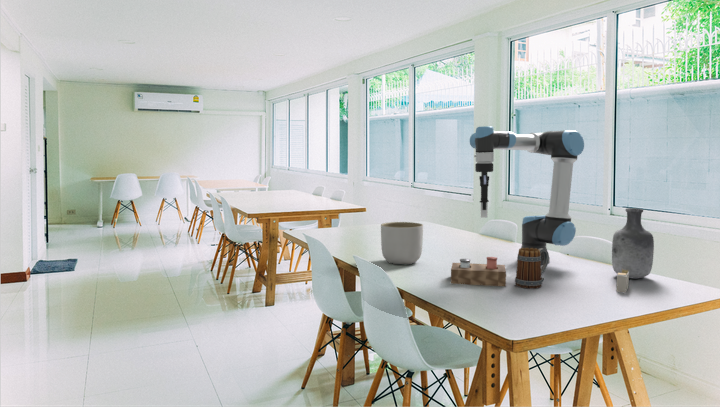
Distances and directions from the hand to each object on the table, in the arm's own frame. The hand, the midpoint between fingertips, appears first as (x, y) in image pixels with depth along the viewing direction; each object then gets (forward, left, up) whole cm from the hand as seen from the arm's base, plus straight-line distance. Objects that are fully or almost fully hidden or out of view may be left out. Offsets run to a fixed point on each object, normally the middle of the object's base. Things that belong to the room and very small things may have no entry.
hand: (484, 217), depth 229 cm
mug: (-20, +11, -27) cm, 35 cm away
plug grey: (+7, +9, -26) cm, 29 cm away
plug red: (-4, +9, -25) cm, 27 cm away
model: (-54, +10, -27) cm, 61 cm away
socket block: (+2, +9, -26) cm, 28 cm away
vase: (-63, -12, -27) cm, 69 cm away
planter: (+39, -22, -27) cm, 52 cm away
